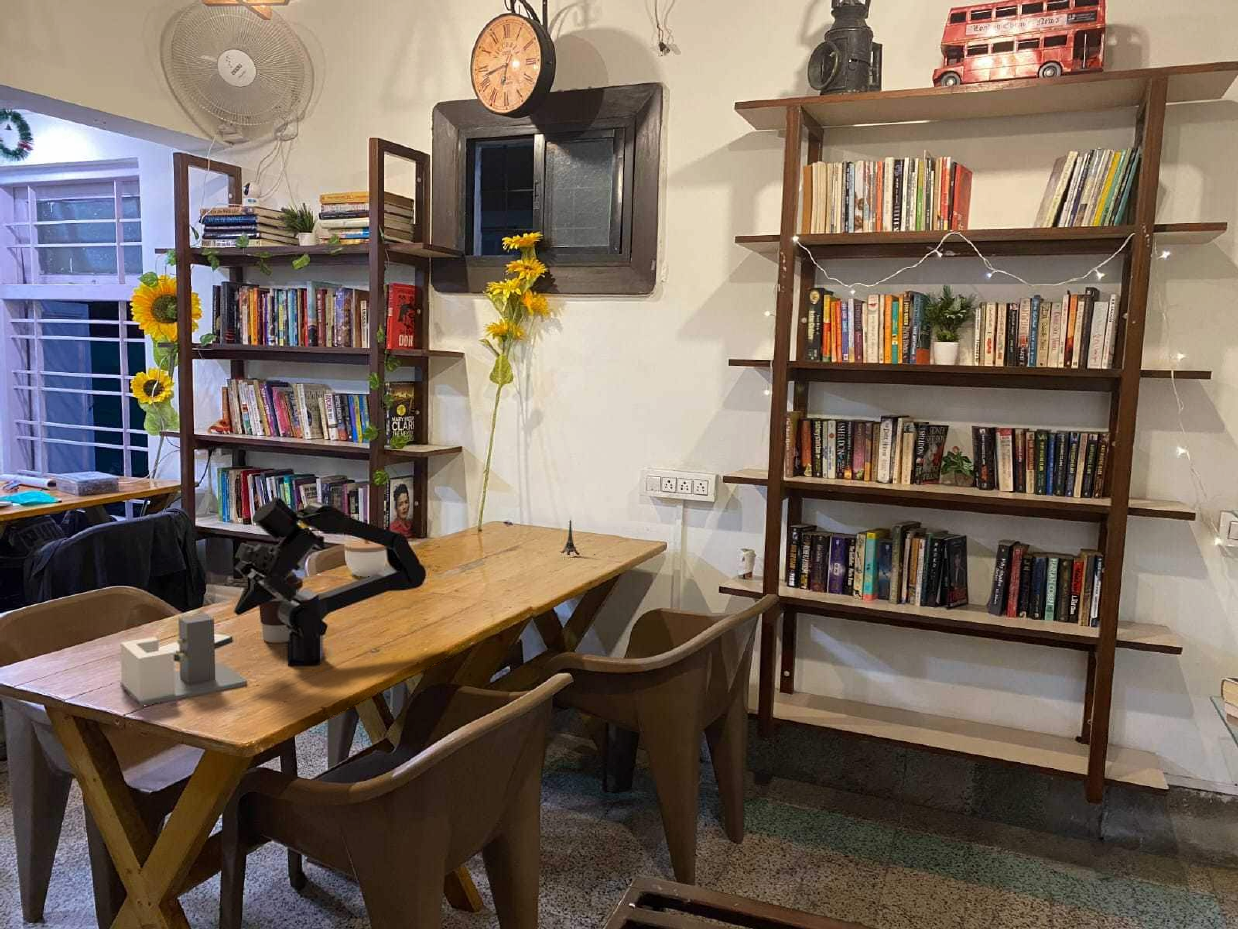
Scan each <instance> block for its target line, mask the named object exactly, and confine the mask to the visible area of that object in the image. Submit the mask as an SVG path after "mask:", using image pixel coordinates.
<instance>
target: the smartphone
mask: <svg viewBox="0 0 1238 929" xmlns="http://www.w3.org/2000/svg"><path fill="white" fill-rule="evenodd" d="M233 638H234V637H233V636H232V635H227V634H222V633H221V634H219V633H214V639H215V647H216V648H219V647H221V646H224V645H226V644H229V643H231V642H233V641H232V640H233ZM230 641H231V642H230ZM228 642H229V643H228ZM225 643H226V644H225ZM223 644H224V645H223ZM167 649H170V650H171V651H173V652H174V661H180V656H179V654H178V655H176V653H175V651H177V650H179V644H178V643H177V640H176V641H174V642H171V643H168V644H165V645H162V646H158V650H159V651H161V650H167Z"/></svg>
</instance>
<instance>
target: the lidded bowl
mask: <svg viewBox="0 0 1238 929" xmlns="http://www.w3.org/2000/svg"><path fill="white" fill-rule="evenodd" d="M343 546H344V547H343V548H344V559H345V563H346V566H347V568H348V569H349V570H350V571H351V572H352V573H353V576H355V575H356V577H360V576H361V577H362V578H363V577H364V578H367V577H368V576H372V575H375V574H378V573H379V572H381V571H382V570H383V569H384V568H385V567H386V566H387V565H386V564H387V563H388V561H387V555H386V548H385V546H383V545H380V544H377V543H374V542H370V541H367V540H364V539H358V540H357V539H356V540H352V541H348V542H345V543H344V545H343Z"/></svg>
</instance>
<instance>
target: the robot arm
mask: <svg viewBox="0 0 1238 929" xmlns="http://www.w3.org/2000/svg"><path fill="white" fill-rule="evenodd" d="M252 521H253V522H254V523H255V524H256V525H257V526H258V527H259V528H260V529H262V530H263V531H264V532H265V533H266V534H267V535H269V537H270V538H272V539H274V540H275V539H276V540H277V539H279V538H280V539H281V540H280V541H279V543H278V544H277V545H276V546H275V547H274V546H273V545H272V546H269V547H268V546H265V545H261V544H257V545H256V546H253V545H250V544H247V543H244V542H241V543H240V544H239V547H238V550H237V552H236V553H235V556H234V558H235V559H239V560H240V561H239V562H238V563H237V564H235V567H234V569H235V570H237V571H238V572H239V573H240V574H242V578H243V580H244V581H243V582H244V589H243V591H242V593H241V595H240V597H239V599H238V602H237V604H236V605H235V608H234V610H233V613H234V614H236V615H237V616H241V615H242V614H245V613H247V612H249V611H251V610H253V609H255V608H257V607H259V605H261V604H264V603H266V602H268V601H271V600H273V599H276V598H277V597H275V596H274V595H275V594H276V593H277V592H278V593H279V594H280V595H281V596H283V599H284V600H283V601H282V602H281V604H280V606H279V608H278V617H279V619H280V620H281V621H282V622H283V623H285V624H286V626H287V629H289V630H291V633H290V634H289V639H288V640H287V642H286V660H287V666H318V665H320V664H321V663H322V661H323V660H324V658H325V656H326V653H325V652H324V638H323V637H324V636H325V635H326V633H327V630H328V624H327V623H326V622H325V621H323V620H324V619H325V617H327V616H328V615H329V614H331V613H333V612H336V611H339V610H341V609H345V608H347V607H349V606H352V605H355V604H358V603H360V602H363V601H365V600H368V599H371V598H374V597H376V596H380V595H381V594H385V593H388V592H398V591H399V592H400V591H408V590H414V589H418V588H420V587H422V586H423V584H424V582H425V580H426V578H427V571H426V569H425V567H424V565H423V564H421V561H420V560H419V557H418V555H416V553H415V552H414V550H413V549H412V547H411V545H410V543H409V541H408V539H407V536H406V535H405V534H404V533H401V532H399V531H396V530H389V529H385V528H383V527H379V526H376V525H374V524H370V523H368V522H365V521H362V520H359V519H356V518H353V517H351V516H350V515H348V514H347V513H345V512H343V511H342V510H340V509H338V508H336V507H334V506H332V505H330V504H327V503H323V502H320V501H313V502H311V503H308V505H307V506H305V507H304V508H299V509H296V510H293V509H292V508H290V507H289V506H288V505H287V504H286V503H285V501H284V500H283V499H282V498H281V497H278V496H274V498H273V499H272V500H270V501H267V502H266V503H265V504H263V505H261V506H259V508H257V510H256V511H255V512H254V514H253V516H252ZM298 523H299V524H301V525H304V526H307V527H305V528H302V527H301V526H300V525H299V524H298ZM312 529H313V530H316V531H318V532H321V533H326V534H334V535H335V534H336V535H347V536H348V535H349V536H352V537H355V538H357V539H360V540H367V541H370V542H374V543H377V544H380V545H383V546H385V548H386V555H387V563H388V564H387V565H385V567H384V568H383V569H382V570H381V571H380V572H379V573H378V574H375V575H372V576H369V577H364V578H362V579H358V580H356V581H353V582H350V583H347V584H344V585H340V586H338V587H335V588H333V589H330V590H327V591H325V592H322V593H316V592H314V591H313V590H311V589H308V588H304V589H302V590H300V592H298V593H296V588H295V587H293V586H292V585H291V584H290V583H289V582H288V581H286V580H285V579H286V578H287V577H288V575H289V574H290V573H291V572H294V571H296V572H298V571H299V570H300V568H301V566H300V565H299V564H300V563H301V562H302V560H303V559H305V557H306V556H307V555H308V553H310V551H311V550H312V549H313V548H314V547H315V548H317V549H319V550H322V551H323V550H325V549H326V547H325V545H326V544H325V536H323V535H320V534H318V535H316V534H315V533H314V532H313V531H312Z"/></svg>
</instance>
